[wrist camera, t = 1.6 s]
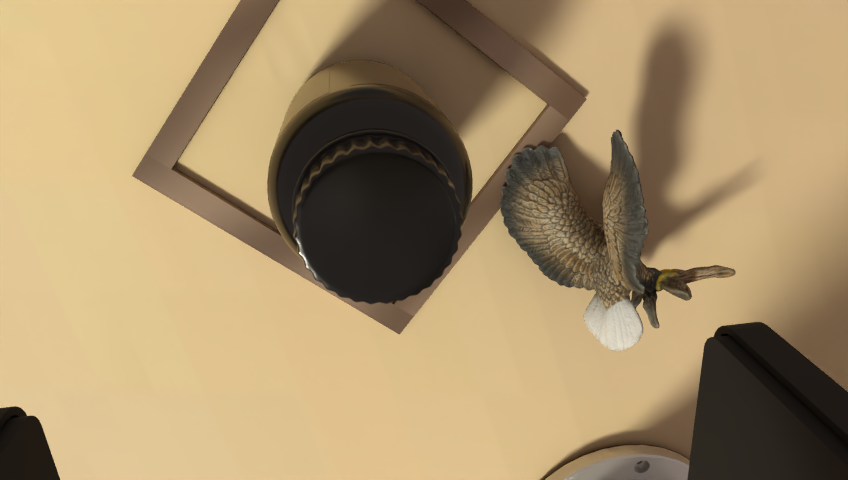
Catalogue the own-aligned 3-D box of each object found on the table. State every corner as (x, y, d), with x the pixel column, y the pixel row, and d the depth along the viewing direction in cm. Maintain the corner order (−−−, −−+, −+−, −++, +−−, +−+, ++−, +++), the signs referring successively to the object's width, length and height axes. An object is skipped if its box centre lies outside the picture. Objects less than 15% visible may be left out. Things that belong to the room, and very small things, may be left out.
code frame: (584, 97, 30) (586, 99, 30) (399, 331, 33) (399, 334, 33) (316, -121, 25) (316, -122, 25) (134, 173, 29) (131, 175, 29)
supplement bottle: (368, 237, 31) (381, 379, 20) (252, 140, 29) (195, 241, 18) (470, 131, 30) (545, 221, 19) (357, 21, 27) (367, 49, 16)
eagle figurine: (725, 204, 31) (628, 83, 27) (747, 335, 27) (637, 220, 22) (586, 253, 36) (482, 158, 31) (586, 372, 32) (467, 284, 27)
